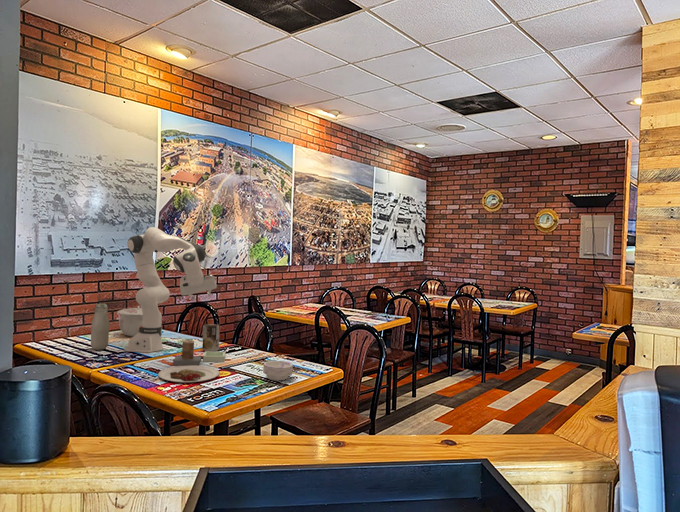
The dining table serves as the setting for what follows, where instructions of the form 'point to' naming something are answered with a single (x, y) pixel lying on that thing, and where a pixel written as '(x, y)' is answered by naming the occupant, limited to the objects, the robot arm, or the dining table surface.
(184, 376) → the plated food
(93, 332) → the glass bottle
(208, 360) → the holder
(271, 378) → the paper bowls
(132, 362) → the dining table surface
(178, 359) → the block
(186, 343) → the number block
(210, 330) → the coffee box
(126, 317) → the chamber pot
